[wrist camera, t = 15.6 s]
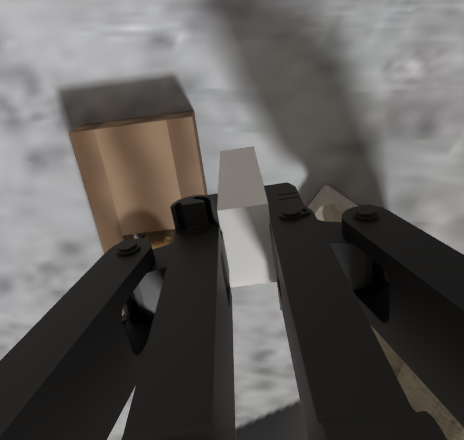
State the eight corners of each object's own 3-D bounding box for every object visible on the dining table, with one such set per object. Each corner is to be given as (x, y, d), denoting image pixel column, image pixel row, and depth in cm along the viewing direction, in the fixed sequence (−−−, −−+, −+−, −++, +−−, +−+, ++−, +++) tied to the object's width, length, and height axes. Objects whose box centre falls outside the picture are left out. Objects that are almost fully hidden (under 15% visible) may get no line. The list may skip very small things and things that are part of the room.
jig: (194, 110, 40) (191, 116, 37) (221, 284, 49) (222, 303, 46) (81, 125, 40) (68, 132, 37) (129, 296, 49) (123, 315, 46)
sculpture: (268, 223, 46) (345, 479, 19) (309, 168, 43) (471, 372, 16) (360, 279, 50) (536, 559, 22) (403, 232, 47) (663, 484, 20)
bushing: (182, 221, 45) (175, 254, 38) (188, 257, 47) (183, 295, 40) (140, 226, 45) (125, 259, 38) (148, 262, 47) (136, 300, 40)
